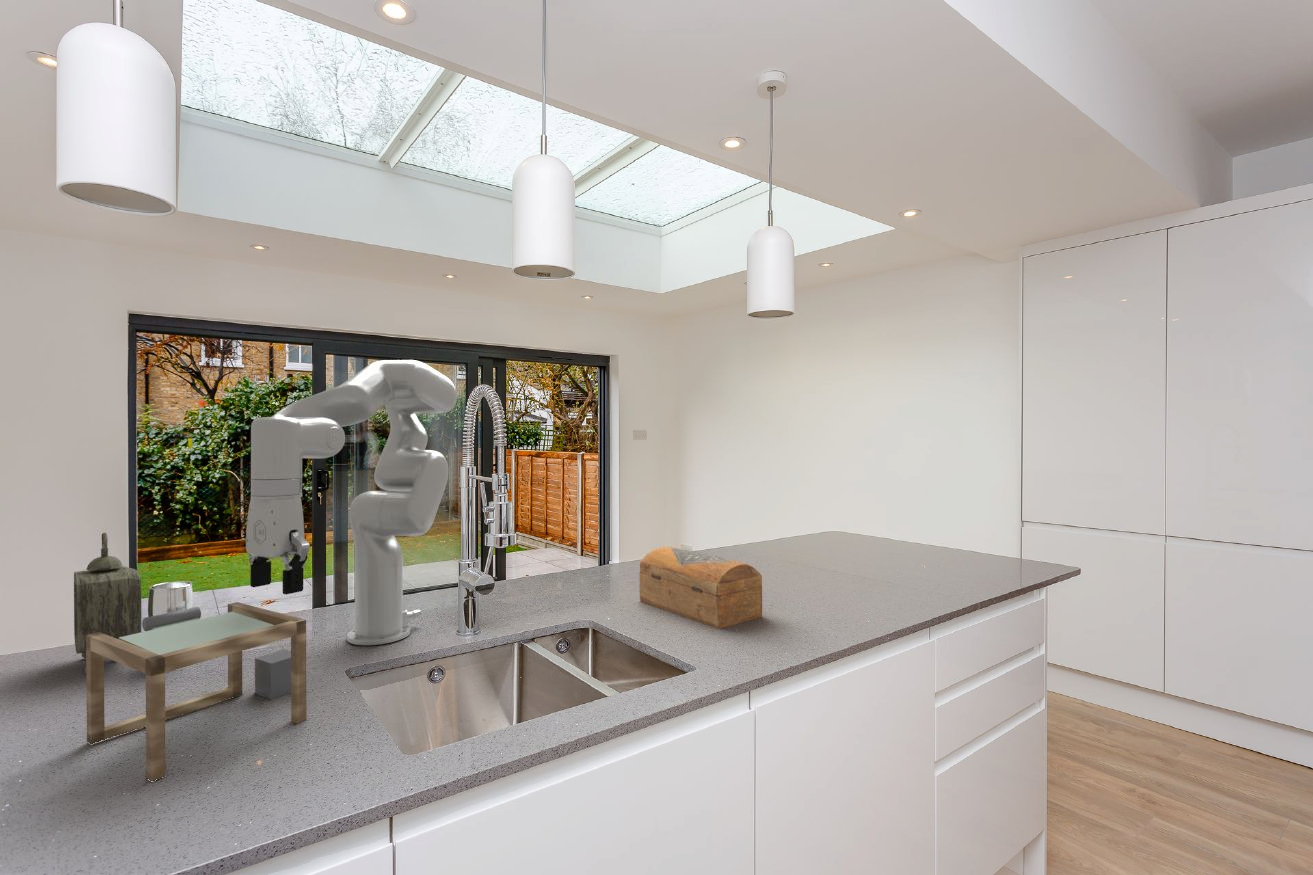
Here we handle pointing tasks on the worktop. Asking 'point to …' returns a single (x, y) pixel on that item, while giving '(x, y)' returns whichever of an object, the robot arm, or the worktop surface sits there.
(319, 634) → the worktop surface
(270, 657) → the stone
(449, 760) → the worktop surface
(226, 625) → the trapdoor
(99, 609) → the tabletop clock
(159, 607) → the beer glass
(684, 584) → the wooden box
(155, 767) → the frame
